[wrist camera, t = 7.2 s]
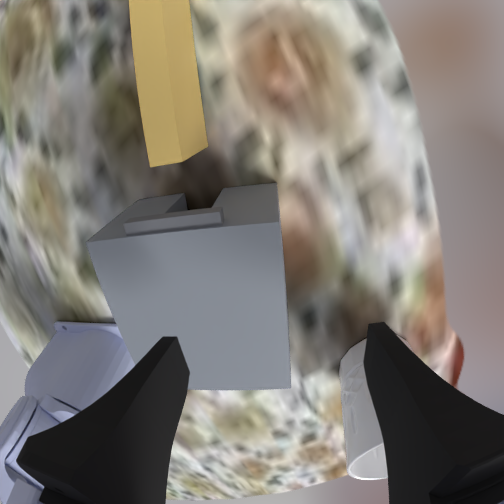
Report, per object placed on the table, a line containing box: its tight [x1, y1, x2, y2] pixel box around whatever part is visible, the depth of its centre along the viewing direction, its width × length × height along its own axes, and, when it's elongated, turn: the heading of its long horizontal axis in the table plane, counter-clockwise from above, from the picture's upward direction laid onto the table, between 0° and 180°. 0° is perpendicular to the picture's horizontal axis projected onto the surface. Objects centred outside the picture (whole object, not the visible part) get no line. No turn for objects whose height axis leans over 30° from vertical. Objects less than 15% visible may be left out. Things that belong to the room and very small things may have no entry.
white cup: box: [339, 335, 414, 480], centre depth 20 cm, size 8×8×10 cm
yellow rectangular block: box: [129, 0, 208, 167], centre depth 13 cm, size 2×10×6 cm, turn 7°
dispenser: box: [86, 183, 291, 390], centre depth 18 cm, size 9×11×7 cm
